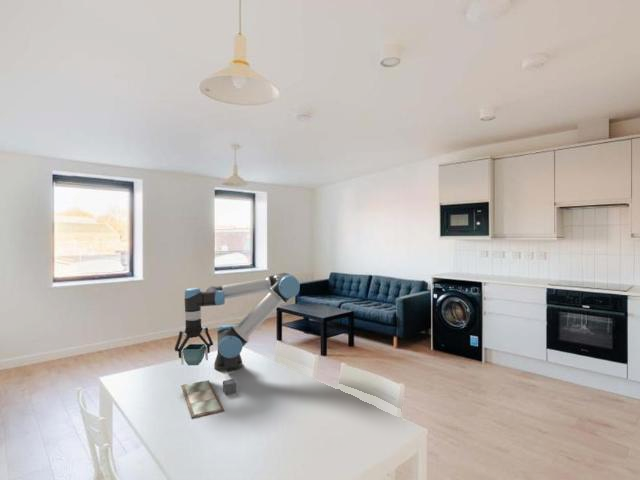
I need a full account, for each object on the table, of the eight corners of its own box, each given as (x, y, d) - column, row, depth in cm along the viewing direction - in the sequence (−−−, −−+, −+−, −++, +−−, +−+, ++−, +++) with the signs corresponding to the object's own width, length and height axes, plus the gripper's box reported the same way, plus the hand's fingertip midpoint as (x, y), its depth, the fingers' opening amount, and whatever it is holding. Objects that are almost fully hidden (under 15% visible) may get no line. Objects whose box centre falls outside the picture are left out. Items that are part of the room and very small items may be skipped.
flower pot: (200, 367, 179) (199, 349, 179) (182, 367, 179) (182, 349, 179) (206, 360, 188) (205, 343, 187) (189, 361, 188) (188, 343, 188)
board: (209, 381, 181) (209, 379, 181) (224, 411, 151) (224, 408, 151) (181, 386, 175) (181, 384, 175) (191, 418, 145) (191, 416, 145)
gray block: (233, 389, 172) (233, 378, 172) (236, 393, 168) (236, 382, 168) (222, 391, 170) (222, 380, 170) (225, 395, 165) (225, 384, 165)
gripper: (215, 314, 191) (216, 355, 192) (167, 320, 181) (168, 363, 181) (218, 317, 185) (219, 359, 185) (168, 323, 174) (170, 368, 175)
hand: (194, 361), depth 183 cm, fingers closed on flower pot, 11 cm apart
